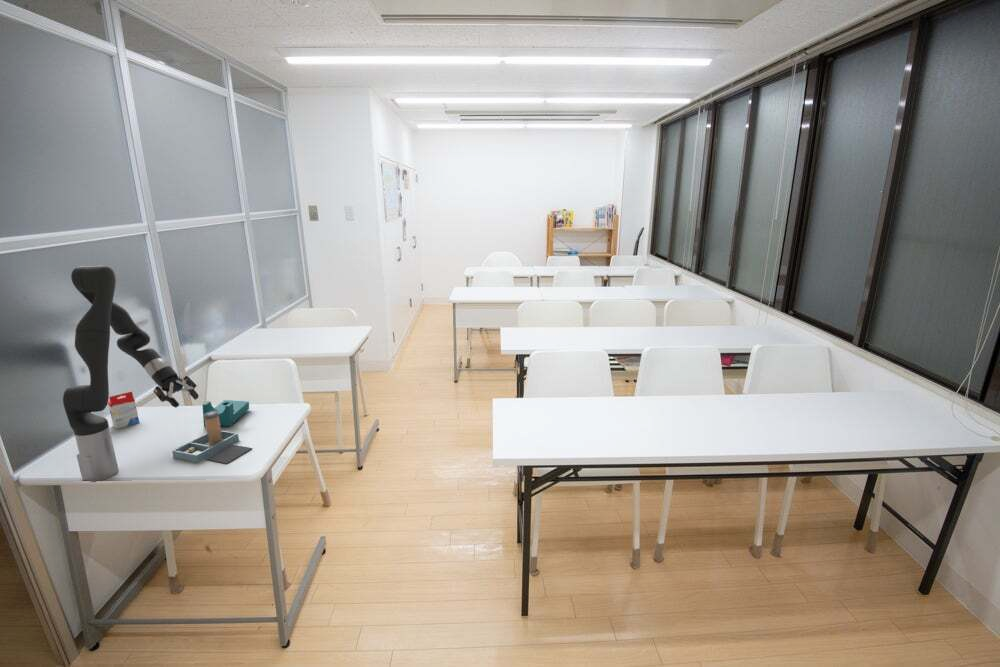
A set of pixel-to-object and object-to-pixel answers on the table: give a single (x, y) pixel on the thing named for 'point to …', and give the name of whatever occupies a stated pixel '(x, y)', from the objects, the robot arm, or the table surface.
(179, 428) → the table surface
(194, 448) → the parts tub
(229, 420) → the teal notched block
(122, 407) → the ink box
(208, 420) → the brown canister
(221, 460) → the black mat
